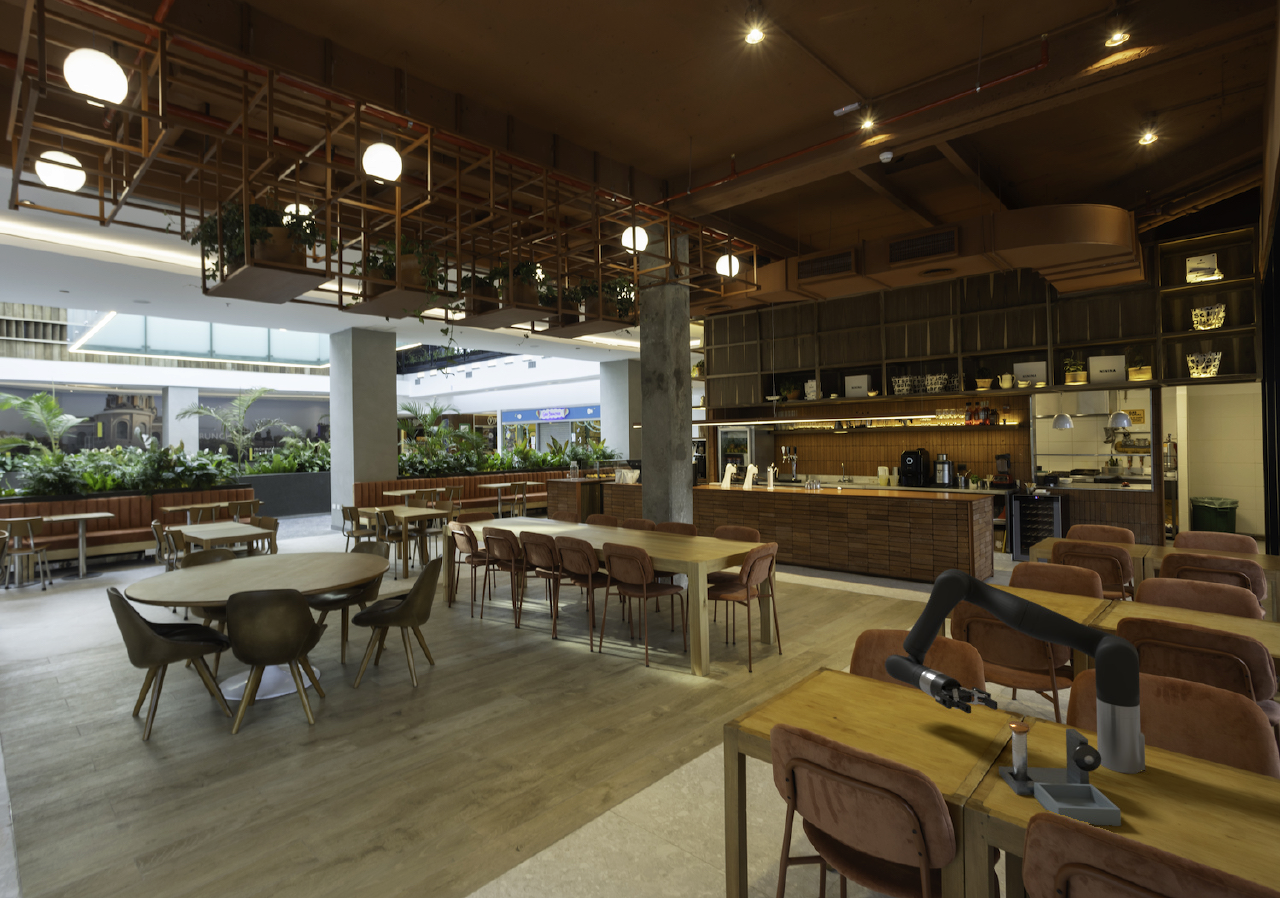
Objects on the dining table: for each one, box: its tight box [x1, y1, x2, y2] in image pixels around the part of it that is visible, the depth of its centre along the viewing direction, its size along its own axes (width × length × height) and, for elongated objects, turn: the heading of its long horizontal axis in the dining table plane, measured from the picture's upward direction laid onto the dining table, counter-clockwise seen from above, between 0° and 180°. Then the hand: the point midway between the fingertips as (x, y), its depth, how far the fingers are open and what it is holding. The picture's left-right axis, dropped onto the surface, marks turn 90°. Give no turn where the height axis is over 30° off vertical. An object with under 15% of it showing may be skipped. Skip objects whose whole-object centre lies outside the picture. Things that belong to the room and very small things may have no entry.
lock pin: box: [1008, 720, 1030, 781], centre depth 163 cm, size 4×4×15 cm
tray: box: [1033, 783, 1122, 827], centre depth 151 cm, size 13×11×4 cm
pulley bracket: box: [998, 728, 1101, 796], centre depth 162 cm, size 20×10×13 cm, turn 84°
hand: (983, 708), depth 174 cm, fingers open, 8 cm apart
